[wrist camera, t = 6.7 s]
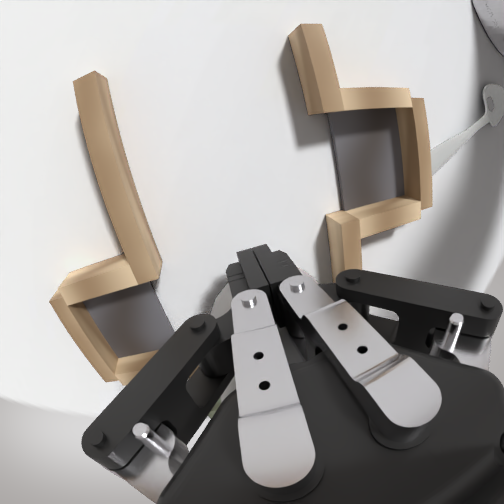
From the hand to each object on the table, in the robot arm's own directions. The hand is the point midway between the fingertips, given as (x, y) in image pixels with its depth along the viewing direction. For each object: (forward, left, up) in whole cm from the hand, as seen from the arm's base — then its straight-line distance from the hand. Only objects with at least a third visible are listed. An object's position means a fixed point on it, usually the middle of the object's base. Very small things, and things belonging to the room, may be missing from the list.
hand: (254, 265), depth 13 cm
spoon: (-20, -5, -3) cm, 21 cm away
